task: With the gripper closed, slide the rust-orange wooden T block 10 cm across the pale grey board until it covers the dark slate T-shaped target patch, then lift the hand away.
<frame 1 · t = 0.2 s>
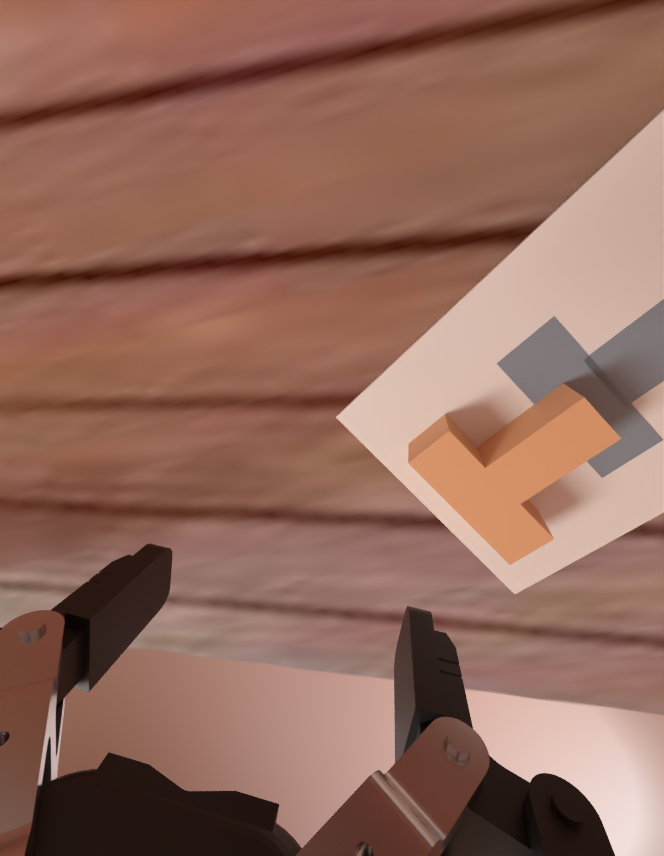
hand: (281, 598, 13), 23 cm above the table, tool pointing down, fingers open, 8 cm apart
t block: (512, 449, 32), point 1 cm above the table, touching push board
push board: (576, 399, 30), on the table
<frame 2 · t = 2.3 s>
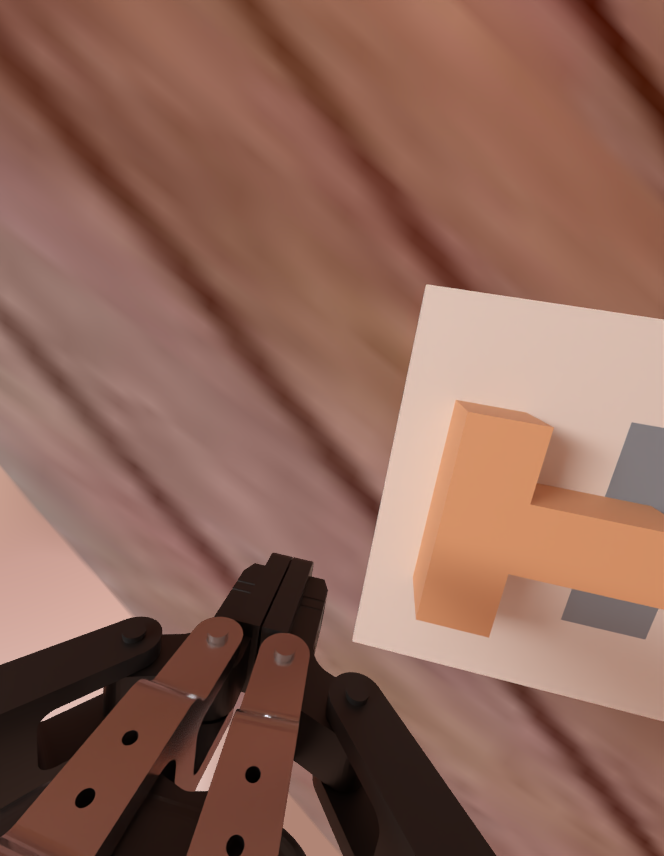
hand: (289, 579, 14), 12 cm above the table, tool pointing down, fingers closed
t block: (532, 514, 23), point 1 cm above the table, touching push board
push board: (632, 532, 23), on the table
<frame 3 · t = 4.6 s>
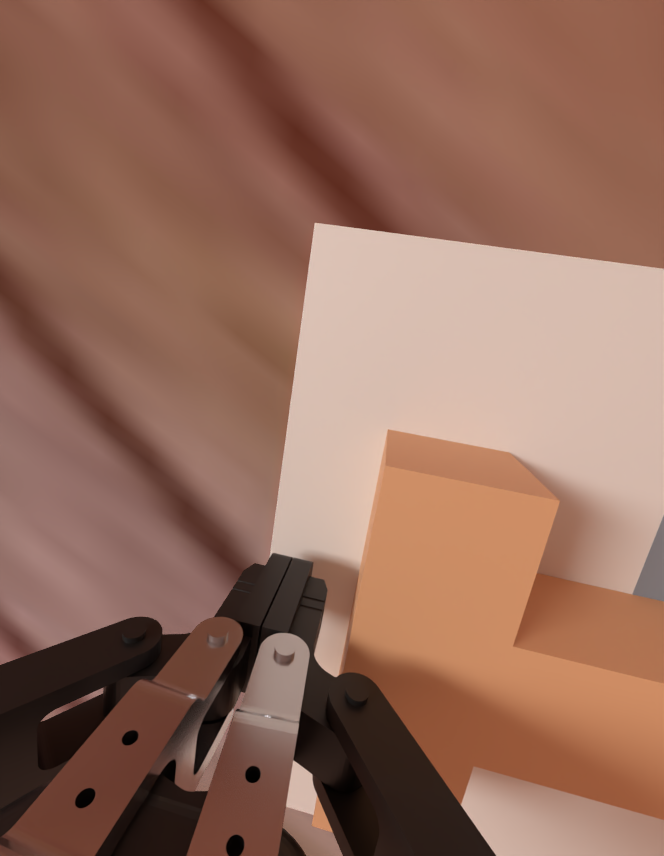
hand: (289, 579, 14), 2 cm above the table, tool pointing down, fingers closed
t block: (522, 622, 14), point 1 cm above the table, touching gripper
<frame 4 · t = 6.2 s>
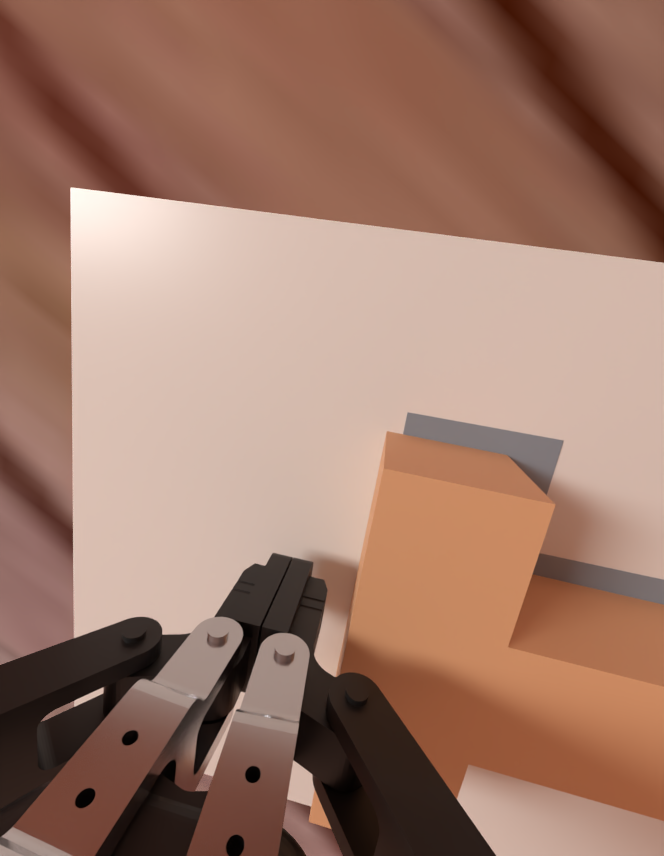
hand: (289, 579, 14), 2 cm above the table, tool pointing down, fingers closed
t block: (518, 622, 14), point 1 cm above the table, touching gripper
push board: (438, 585, 15), on the table
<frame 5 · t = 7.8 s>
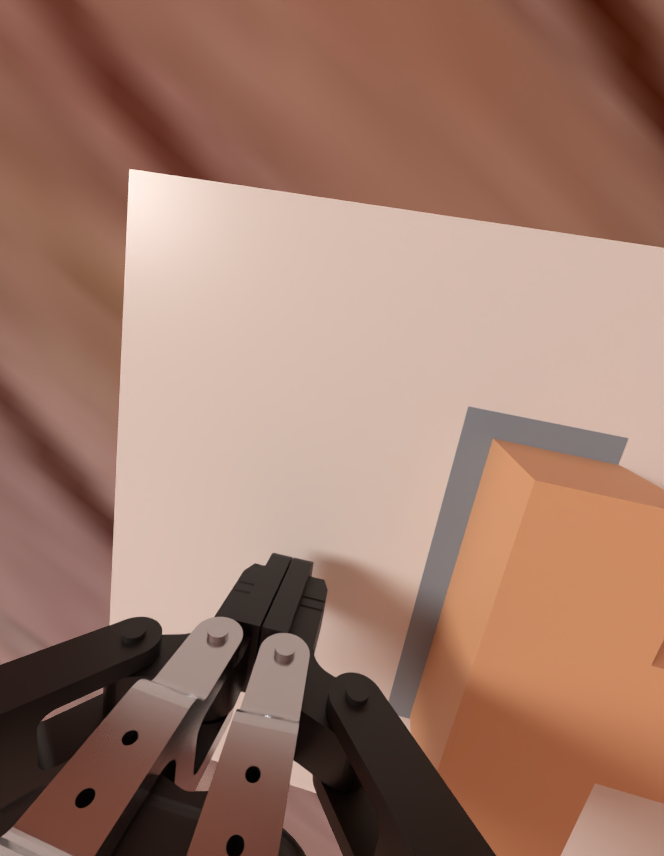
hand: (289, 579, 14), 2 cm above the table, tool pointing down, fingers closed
t block: (617, 635, 14), point 1 cm above the table, touching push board
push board: (487, 582, 15), on the table
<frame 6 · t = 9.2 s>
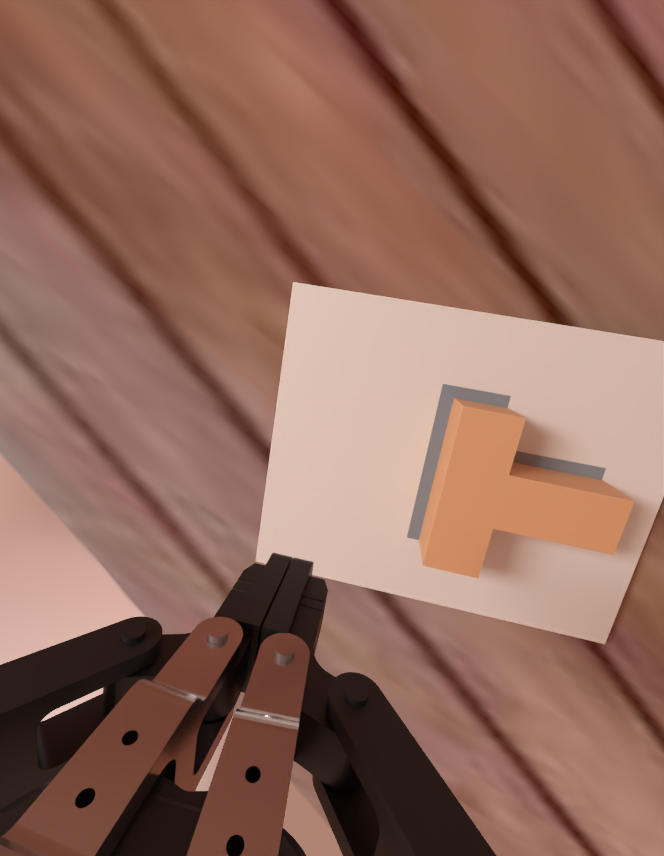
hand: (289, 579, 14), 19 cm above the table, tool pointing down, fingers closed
t block: (512, 487, 30), point 1 cm above the table, touching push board
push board: (454, 468, 31), on the table
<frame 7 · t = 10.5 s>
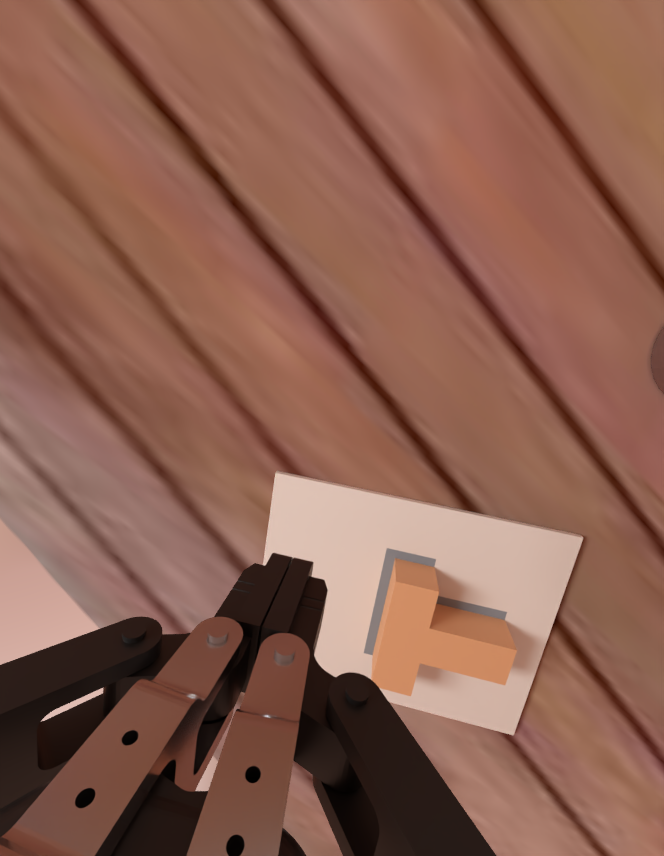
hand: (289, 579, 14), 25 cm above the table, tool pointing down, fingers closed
t block: (440, 621, 40), point 1 cm above the table, touching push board
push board: (398, 604, 41), on the table
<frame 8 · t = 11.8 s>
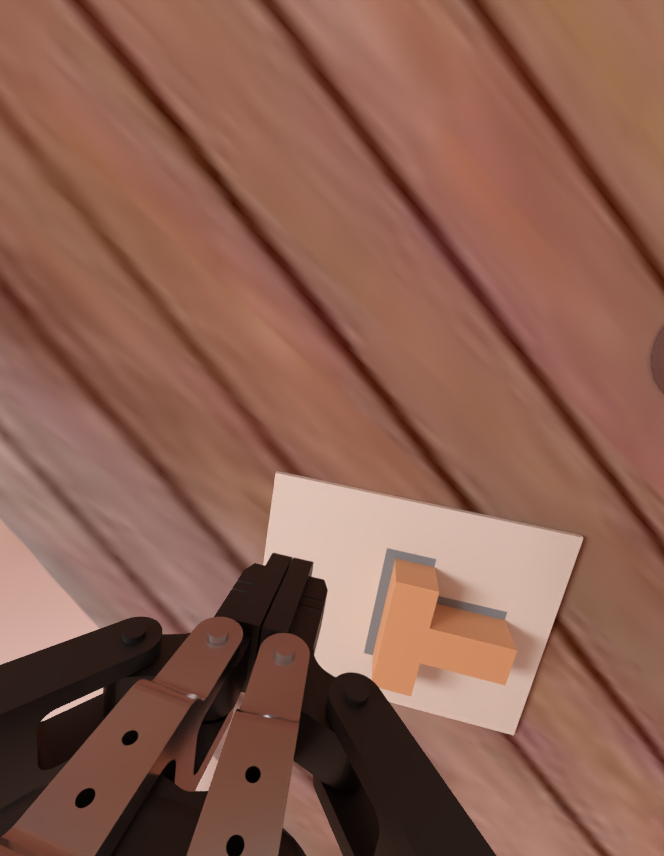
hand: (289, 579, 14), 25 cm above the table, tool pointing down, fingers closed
t block: (440, 622, 40), point 1 cm above the table, touching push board
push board: (398, 604, 41), on the table
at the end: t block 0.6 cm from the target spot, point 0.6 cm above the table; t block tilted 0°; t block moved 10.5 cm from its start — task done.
